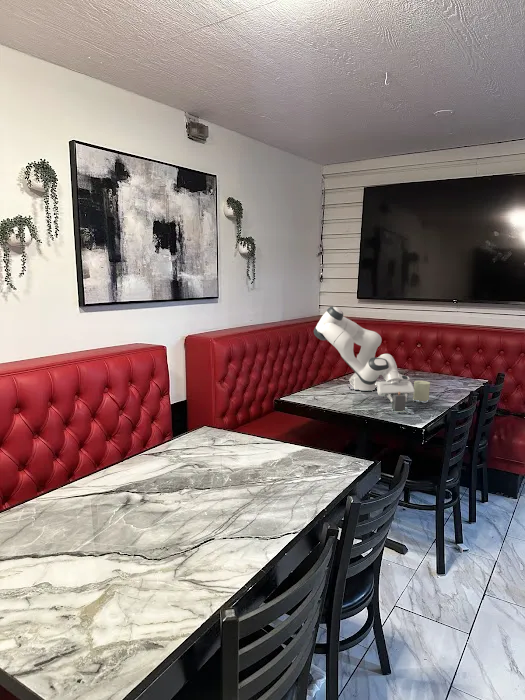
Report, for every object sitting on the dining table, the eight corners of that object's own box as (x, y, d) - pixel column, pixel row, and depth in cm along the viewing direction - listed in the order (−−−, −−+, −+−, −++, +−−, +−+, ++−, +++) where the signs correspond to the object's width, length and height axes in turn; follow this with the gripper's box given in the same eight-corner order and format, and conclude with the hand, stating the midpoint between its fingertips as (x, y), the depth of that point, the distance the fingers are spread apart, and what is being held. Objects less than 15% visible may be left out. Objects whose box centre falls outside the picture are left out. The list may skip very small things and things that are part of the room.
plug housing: (391, 408, 249) (392, 390, 248) (401, 408, 250) (402, 390, 249) (394, 410, 245) (395, 392, 244) (404, 410, 246) (406, 392, 245)
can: (409, 400, 273) (410, 380, 271) (420, 398, 277) (422, 379, 275) (420, 404, 265) (421, 383, 263) (432, 402, 269) (433, 382, 267)
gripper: (376, 377, 250) (382, 399, 242) (411, 376, 253) (419, 398, 245) (372, 383, 256) (378, 405, 247) (407, 382, 259) (414, 404, 251)
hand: (399, 401), depth 247 cm, fingers closed on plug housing, 6 cm apart
